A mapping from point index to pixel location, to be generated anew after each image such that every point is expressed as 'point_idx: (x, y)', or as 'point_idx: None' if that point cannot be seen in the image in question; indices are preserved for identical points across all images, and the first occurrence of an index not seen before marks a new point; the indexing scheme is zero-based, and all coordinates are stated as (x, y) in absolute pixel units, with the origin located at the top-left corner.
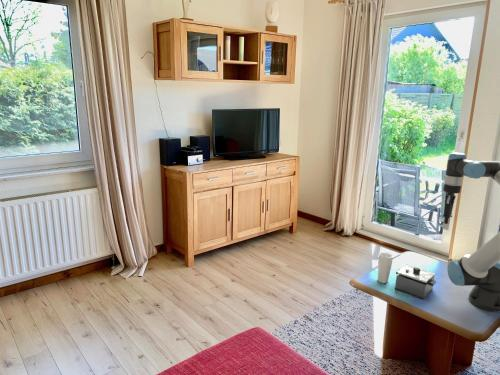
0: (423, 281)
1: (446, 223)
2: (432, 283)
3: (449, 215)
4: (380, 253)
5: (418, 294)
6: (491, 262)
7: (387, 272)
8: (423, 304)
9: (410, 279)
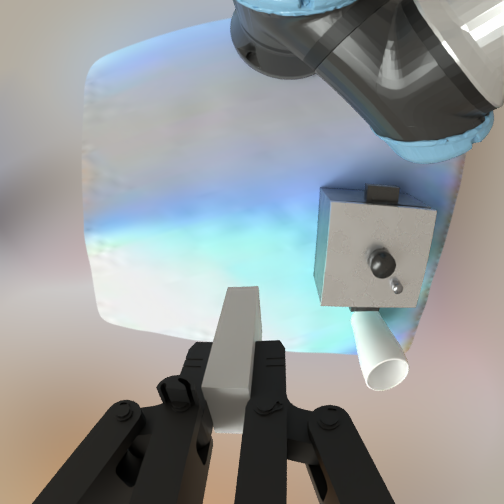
0: (433, 219)
1: (283, 350)
2: (397, 191)
3: (317, 433)
4: (381, 389)
5: None
6: None
7: (386, 326)
8: (430, 187)
9: None
